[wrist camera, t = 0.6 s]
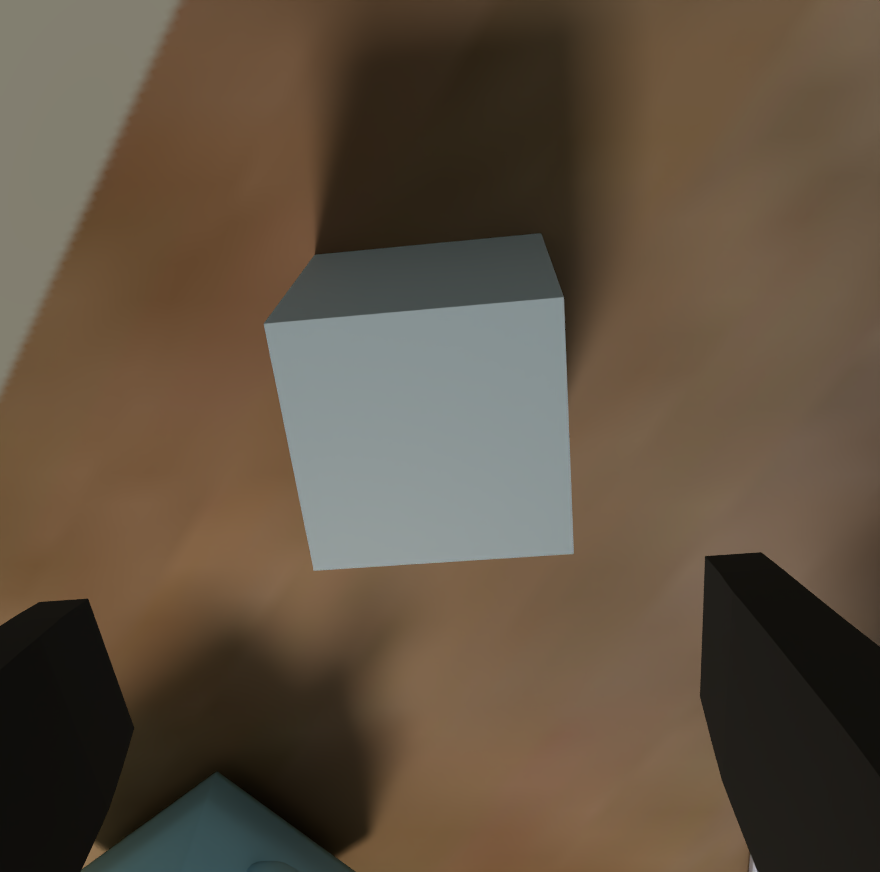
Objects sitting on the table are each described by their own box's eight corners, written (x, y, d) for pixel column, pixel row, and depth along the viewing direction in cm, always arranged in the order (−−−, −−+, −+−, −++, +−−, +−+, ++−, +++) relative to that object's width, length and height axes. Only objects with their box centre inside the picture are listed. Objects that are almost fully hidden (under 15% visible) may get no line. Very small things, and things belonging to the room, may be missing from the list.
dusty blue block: (550, 438, 20) (573, 553, 16) (349, 453, 20) (314, 570, 16) (541, 232, 18) (563, 297, 13) (315, 253, 18) (263, 323, 14)
